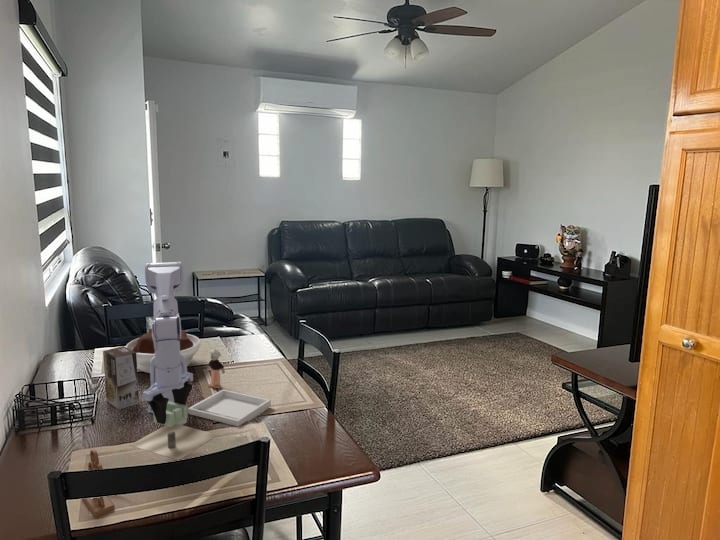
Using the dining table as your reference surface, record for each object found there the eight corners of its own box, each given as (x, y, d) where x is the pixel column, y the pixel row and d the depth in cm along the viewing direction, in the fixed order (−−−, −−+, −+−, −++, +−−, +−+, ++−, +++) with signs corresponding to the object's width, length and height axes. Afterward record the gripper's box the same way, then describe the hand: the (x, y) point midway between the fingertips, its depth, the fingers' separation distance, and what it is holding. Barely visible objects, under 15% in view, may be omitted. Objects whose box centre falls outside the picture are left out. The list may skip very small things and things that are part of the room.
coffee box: (140, 403, 157) (137, 352, 154) (118, 410, 152) (115, 357, 149) (127, 395, 163) (124, 345, 160) (105, 401, 158) (102, 350, 155)
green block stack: (153, 422, 127) (152, 410, 127) (170, 413, 132) (170, 401, 132) (176, 428, 125) (175, 416, 124) (192, 419, 130) (192, 406, 129)
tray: (187, 416, 149) (187, 408, 148) (223, 396, 163) (223, 389, 162) (238, 429, 142) (237, 421, 141) (270, 407, 156) (270, 399, 155)
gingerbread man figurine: (81, 497, 111) (77, 445, 109) (100, 490, 113) (97, 439, 111) (94, 517, 104) (90, 462, 102) (115, 509, 107) (111, 455, 105)
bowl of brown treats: (216, 365, 190) (215, 325, 187) (157, 387, 169) (154, 343, 166) (171, 352, 203) (169, 315, 200) (111, 371, 182) (108, 330, 179)
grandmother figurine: (202, 387, 170) (201, 349, 168) (210, 383, 174) (208, 346, 171) (222, 391, 167) (221, 353, 165) (229, 386, 171) (228, 349, 169)
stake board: (129, 448, 131) (128, 431, 130) (171, 425, 143) (170, 409, 142) (178, 464, 124) (178, 446, 123) (217, 438, 137) (217, 421, 136)
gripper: (157, 378, 118) (160, 433, 121) (201, 358, 131) (203, 409, 134) (134, 372, 121) (138, 427, 123) (180, 354, 134) (182, 404, 136)
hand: (170, 417), depth 129 cm, fingers closed on green block stack, 6 cm apart
